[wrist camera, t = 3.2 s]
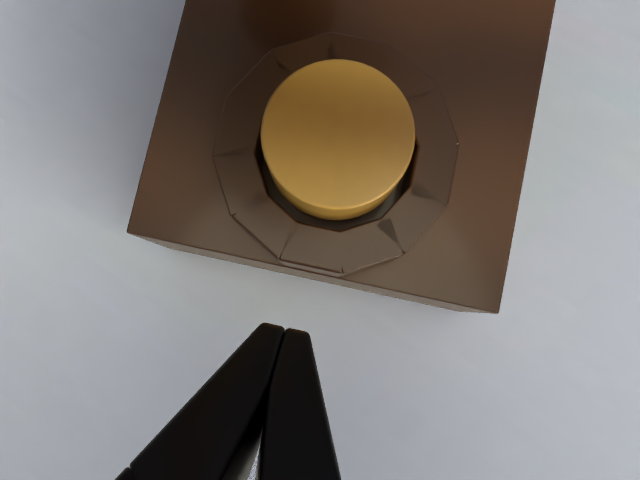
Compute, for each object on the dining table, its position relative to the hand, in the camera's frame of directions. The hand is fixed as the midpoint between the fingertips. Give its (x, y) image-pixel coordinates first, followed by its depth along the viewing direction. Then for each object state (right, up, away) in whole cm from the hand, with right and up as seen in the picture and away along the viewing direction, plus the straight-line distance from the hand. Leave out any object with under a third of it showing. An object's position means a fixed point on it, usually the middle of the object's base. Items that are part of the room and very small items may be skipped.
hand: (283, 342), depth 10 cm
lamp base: (+2, +6, +14) cm, 15 cm away
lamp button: (+1, +4, +7) cm, 8 cm away
